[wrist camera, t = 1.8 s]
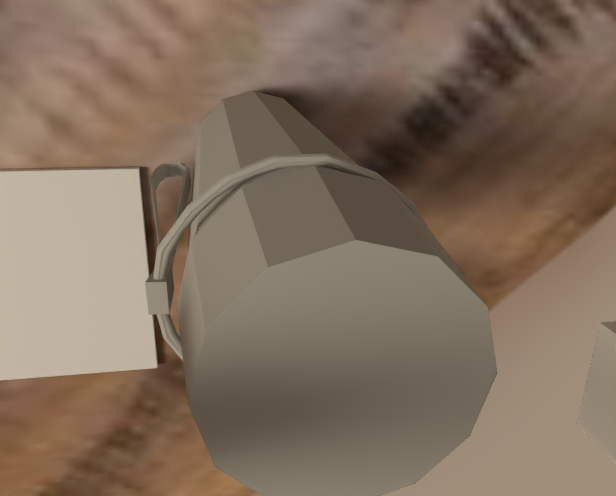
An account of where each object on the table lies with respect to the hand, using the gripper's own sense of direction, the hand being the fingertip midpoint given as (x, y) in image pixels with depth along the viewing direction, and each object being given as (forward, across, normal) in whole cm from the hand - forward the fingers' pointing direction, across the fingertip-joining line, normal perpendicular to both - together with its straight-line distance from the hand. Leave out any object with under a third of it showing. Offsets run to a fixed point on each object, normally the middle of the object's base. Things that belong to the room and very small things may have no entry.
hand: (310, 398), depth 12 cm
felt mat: (+25, -13, -8) cm, 29 cm away
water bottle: (+25, 0, 0) cm, 25 cm away
